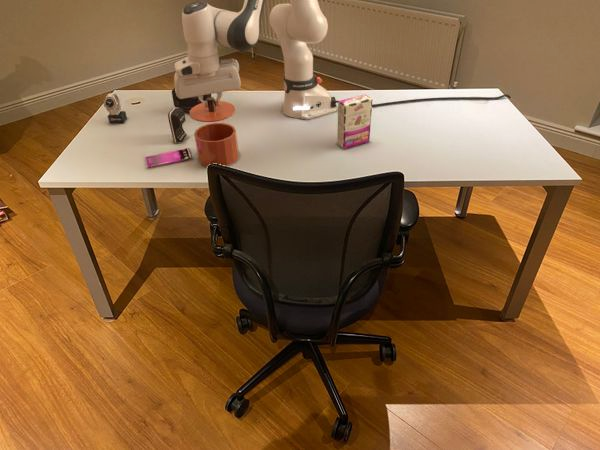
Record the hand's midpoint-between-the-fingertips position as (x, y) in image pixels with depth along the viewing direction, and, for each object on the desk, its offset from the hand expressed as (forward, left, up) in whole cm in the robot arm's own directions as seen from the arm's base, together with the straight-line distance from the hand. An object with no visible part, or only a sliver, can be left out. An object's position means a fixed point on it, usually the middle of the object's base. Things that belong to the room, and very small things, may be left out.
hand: (211, 106), depth 140 cm
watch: (+31, -43, -19) cm, 56 cm away
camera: (+1, -41, -19) cm, 45 cm away
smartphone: (+16, -5, -19) cm, 25 cm away
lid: (0, 0, -2) cm, 2 cm away
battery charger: (+10, -18, -19) cm, 28 cm away
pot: (0, 0, -19) cm, 19 cm away
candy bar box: (-47, +9, -19) cm, 51 cm away
